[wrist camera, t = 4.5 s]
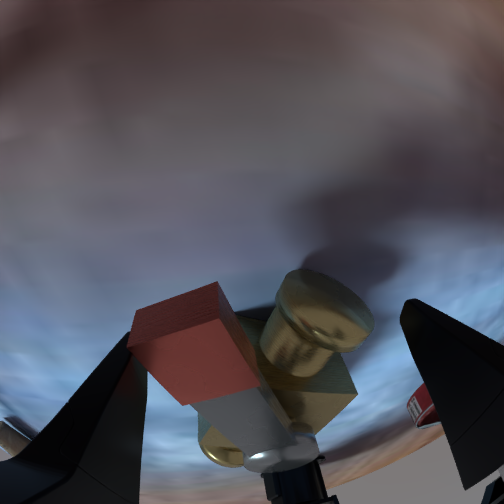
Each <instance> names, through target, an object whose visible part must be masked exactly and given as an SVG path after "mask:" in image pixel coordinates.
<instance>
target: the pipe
mask: <svg viewBox="0 0 504 504" xmlns="http://www.w3.org/2000/svg"><path fill="white" fill-rule="evenodd" d="M30 442H31V440H29V439H28V438H26V437H25V436H23V435H22V434H20V433H19V432H18V431H16V430H15V429H13V428H12V427H10V426H9V425H7V424H6V423H5V422H3V421H0V446H1V447H2V448H4V449H5V450H6V451H7V452H8V453H9V454H10V455H11V456H13V457H14V456H16V455H17V454H18V453H19V452H21V451H22V450H23V449H24V448H25V447H26V446H27V445H28V444H29V443H30Z"/></svg>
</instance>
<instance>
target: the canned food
mask: <svg viewBox="0 0 504 504" xmlns="http://www.w3.org/2000/svg"><path fill="white" fill-rule="evenodd" d="M407 409H408V411H409V413H410V415H411V417H412V419H413V421H414V423H415V425H416V428H418V429H424V428H428V427H431V426H435V425H438V424H441V422H440V419H439V417H438V414H437V412H436V409H435V407H434V404H433V402H432V400H431V397H430V395H429V393H428V390H427V388H426V386H425V383H423V384H422V385H421V386H420V387H419V388H418V389H417V390H416V391H415V392H414V394H413V395H412V396H411V398H410V399H409V401H408V403H407Z"/></svg>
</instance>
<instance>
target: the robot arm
mask: <svg viewBox="0 0 504 504" xmlns="http://www.w3.org/2000/svg"><path fill="white" fill-rule="evenodd" d="M400 325H401V327H402V330H403V332H404V335H405V338H406V341H407V343H408V346H409V349H410V352H411V354H412V357H413V359H414V361H415V364H416V366H417V368H418V370H419V372H420V375H421V377H422V379H423V381H424V383H425V386H426V388H427V390H428V393H429V395H430V397H431V400H432V402H433V404H434V407H435V409H436V412H437V414H438V417H439V419H440V422H441V424H442V427H443V429H444V432H445V434H446V437H447V440H448V443H449V445H450V448H451V451H452V454H453V457H454V460H455V463H456V466H457V469H458V471H459V475H460V478H461V481H462V484H463V487H464V489H465V490H467V489H469V488H470V487H472V486H474V485H475V484H477V483H478V482H480V481H481V480H483V479H484V478H486V477H487V476H489V475H490V474H492V473H493V472H494V471H496V470H497V469H498V471H499V473H500V475H501V476H499V477H498V478H497V479H496V480H494V481H493V482H492V483H490V484H489V485H488V486H487V487H486V490H485V493H484V496H483V500H482V503H481V504H504V346H503V345H501V344H500V343H498V342H496V341H494V340H492V339H491V338H489V337H487V336H485V335H483V334H481V333H480V332H478V331H476V330H474V329H472V328H471V327H469V326H467V325H465V324H463V323H461V322H460V321H458V320H456V319H454V318H452V317H450V316H448V315H447V314H445V313H443V312H441V311H439V310H437V309H435V308H433V307H432V306H430V305H428V304H426V303H424V302H422V301H420V300H418V299H416V298H414V299H409V300H406V301H405V303H404V306H403V309H402V312H401V315H400ZM129 335H130V331H129V332H127V333H126V334H125V335H124V336H123V338H122V339H121V340H120V341H119V342H118V343H117V344H116V345H115V347H114V348H113V349H112V350H111V351H110V352H109V353H108V355H107V356H106V357H105V358H104V359H103V360H102V362H101V363H100V364H99V365H98V366H97V367H96V368H95V370H94V371H93V372H92V373H91V374H90V375H89V377H88V378H87V379H86V380H85V381H84V383H83V384H82V385H81V386H80V387H79V388H78V390H77V391H76V392H75V393H74V394H73V396H72V397H71V398H70V399H69V400H68V402H69V403H68V402H67V403H66V404H65V405H64V406H63V407H62V409H61V410H60V411H59V412H58V413H57V415H56V416H55V417H54V418H53V419H52V420H51V421H50V422H49V423H48V424H47V425H46V427H45V428H44V429H43V430H42V431H41V432H40V433H39V434H38V435H37V436H36V437H35V438H34V439H33V440H32V441H31V442H30V443H29V444H28V445H27V446H26V447H25V448H24V449H23V450H22V451H21V452H19V453H18V454H17V455H16V456H14V457H12V458H11V459H8V460H5V461H0V504H139V492H140V472H141V456H142V444H143V432H144V422H145V412H146V404H147V373H148V371H147V370H146V368H145V367H144V366H143V365H142V364H141V363H140V362H139V361H138V360H137V359H136V358H135V356H134V355H133V353H132V352H130V351H129V350H128V349H127V343H128V339H129ZM325 460H326V459H325V457H317V458H315V459H314V460H313V461H311V462H309V463H307V464H305V465H303V466H301V467H298V468H295V469H291V470H287V471H282V472H274V473H262V474H261V478H264V483H265V489H266V495H267V500H268V501H271V503H272V504H339V501H338V499H337V496H336V495H333V496H331V497H328V495H327V491H326V488H325V484H324V480H323V477H322V473H321V470H320V466H319V464H321V463H322V462H323V461H325Z"/></svg>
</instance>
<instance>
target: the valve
mask: <svg viewBox="0 0 504 504" xmlns="http://www.w3.org/2000/svg"><path fill="white" fill-rule="evenodd" d="M236 317H237V319H238V321H239V322H240V324H241V326H242V328H243V330H244V332H245V333H246V335H247V337H248V339H249V341H250V342H251V344H252V346H253V348H254V350H255V355H256V361H257V366H258V369H259V370H260V372H261V374H262V375H263V377H264V378H265V380H266V382H267V383H268V385H269V387H270V388H271V390H272V392H273V393H274V395H275V396H276V398H277V400H278V401H279V403H280V404H281V406H282V408H283V409H284V411H285V412H286V414H287V416H288V417H289V419H290V420H291V422H303V423H307V424H309V425H310V426H312V428H313V431H314V434H315V435H316V434H317V433H318V432H319V431H320V430H321V429H322V428H323V427H325V426H326V425H327V424H328V423H329V422H330V421H331V420H332V419H333V418H334V417H335V416H337V415H338V414H339V413H340V412H341V411H342V410H343V409H344V408H345V407H346V406H347V405H348V404H349V403H350V402H351V401H352V400H353V399H354V398H355V397H356V396H357V395H358V393H357V390H356V388H355V386H354V383H353V381H352V379H351V376H350V374H349V372H348V370H347V367H346V365H345V363H344V360H343V358H342V356H341V354H340V352H343V353H344V352H352V351H355V350H357V349H358V348H359V347H360V346H361V345H362V344H363V342H364V341H365V340H366V338H367V337H368V336H369V335H370V333H371V332H372V331H373V329H374V319H373V316H372V313H371V312H370V310H369V308H368V307H367V305H366V304H365V303H364V302H363V301H362V300H361V299H360V298H359V297H358V296H357V295H356V294H355V293H354V292H353V291H351V290H350V289H349V288H347V287H346V286H344V285H343V284H341V283H340V282H338V281H336V280H334V279H332V278H330V277H328V276H326V275H323V274H321V273H318V272H314V271H310V270H303V269H300V270H293V271H291V272H289V273H288V274H287V275H286V277H285V278H284V280H283V282H282V284H281V286H280V288H279V290H278V292H277V294H276V306H275V308H274V310H273V312H272V314H271V315H270V317H269V319H268V321H262V320H257V319H253V318H248V317H244V316H239V315H236ZM198 442H199V445H200V448H201V450H202V451H203V453H204V454H205V455H206V456H207V457H208V458H209V459H210V460H211V461H213V462H215V463H217V464H219V465H221V466H225V467H231V468H236V467H241V466H244V461H243V453H242V450H240V449H239V448H238V447H237V446H235V445H234V444H233V443H232V442H231V441H230V440H228V439H227V438H226V437H225V436H224V435H223V434H221V433H220V432H219V431H218V430H217V429H216V428H215V427H214V426H212V425H211V424H210V423H209V422H208V421H207V420H206V419H205V418H204V417H203V416H202V415H200V414H199V413H198Z"/></svg>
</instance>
